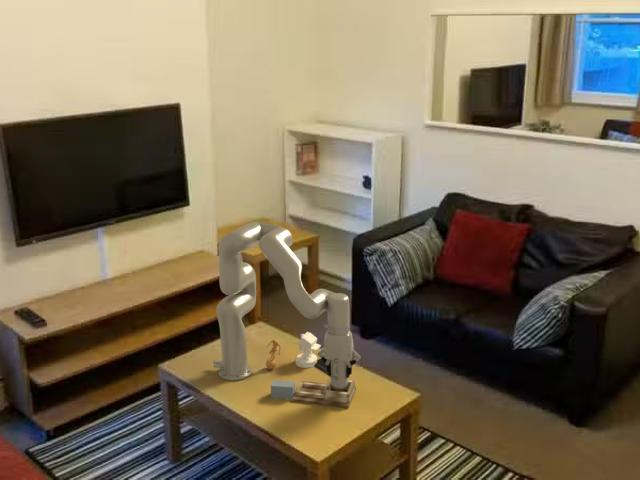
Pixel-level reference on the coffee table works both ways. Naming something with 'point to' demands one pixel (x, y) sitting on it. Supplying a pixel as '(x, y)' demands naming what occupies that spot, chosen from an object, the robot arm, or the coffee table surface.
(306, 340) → the character figurine
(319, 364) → the phone
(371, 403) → the coffee table surface
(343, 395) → the jig
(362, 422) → the coffee table surface
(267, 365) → the figurine
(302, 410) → the coffee table surface
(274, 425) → the coffee table surface
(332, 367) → the energy drink can
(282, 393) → the wing block
